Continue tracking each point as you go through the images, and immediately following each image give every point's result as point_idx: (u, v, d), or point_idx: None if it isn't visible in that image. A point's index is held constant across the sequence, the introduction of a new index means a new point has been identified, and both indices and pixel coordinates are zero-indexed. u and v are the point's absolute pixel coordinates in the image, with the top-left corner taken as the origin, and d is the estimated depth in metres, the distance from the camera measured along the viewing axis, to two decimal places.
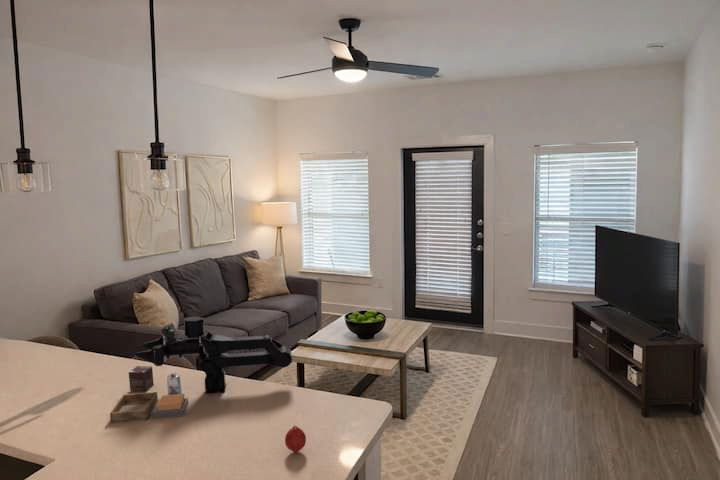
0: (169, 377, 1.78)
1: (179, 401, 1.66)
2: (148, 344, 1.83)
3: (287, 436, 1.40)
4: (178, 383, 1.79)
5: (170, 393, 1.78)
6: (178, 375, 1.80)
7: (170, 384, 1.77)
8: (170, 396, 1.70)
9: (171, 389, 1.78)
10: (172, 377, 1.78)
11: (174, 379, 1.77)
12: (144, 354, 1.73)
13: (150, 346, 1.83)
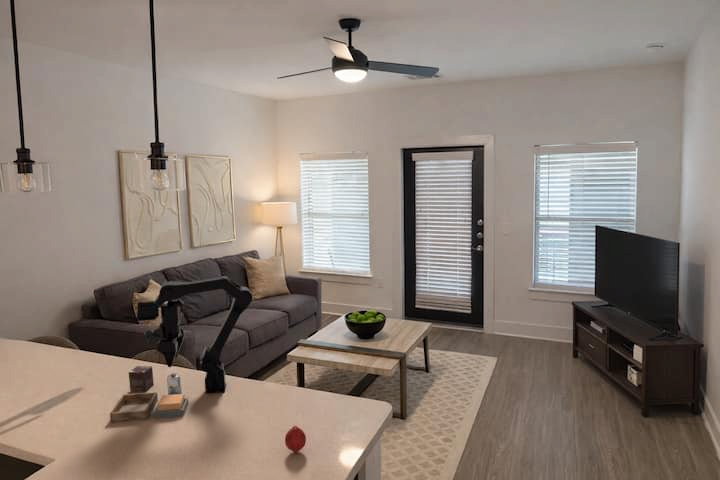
0: (169, 377, 1.78)
1: (179, 401, 1.66)
2: None
3: (287, 436, 1.40)
4: (178, 383, 1.79)
5: (170, 393, 1.78)
6: (178, 375, 1.80)
7: (170, 384, 1.77)
8: (170, 396, 1.70)
9: (171, 389, 1.78)
10: (172, 377, 1.78)
11: (174, 379, 1.77)
12: (168, 359, 1.73)
13: (176, 350, 1.83)
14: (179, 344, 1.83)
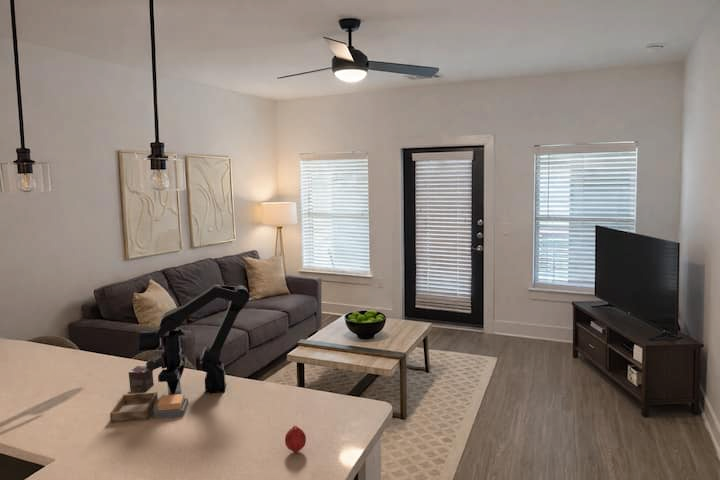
0: None
1: (179, 401, 1.66)
2: None
3: (287, 436, 1.40)
4: (178, 383, 1.79)
5: (170, 393, 1.78)
6: None
7: None
8: (170, 396, 1.70)
9: None
10: None
11: None
12: (171, 386, 1.76)
13: None
14: (180, 374, 1.82)
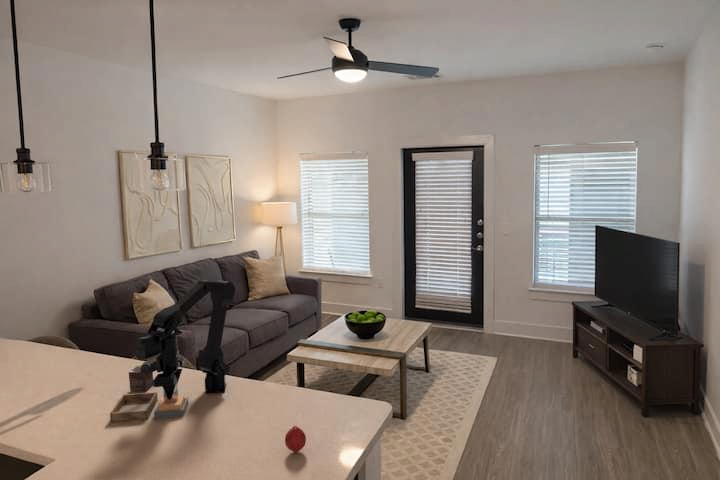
0: None
1: (179, 403, 1.66)
2: None
3: (287, 436, 1.40)
4: (175, 388, 1.66)
5: (166, 399, 1.66)
6: None
7: None
8: None
9: None
10: None
11: None
12: (167, 391, 1.64)
13: None
14: (177, 379, 1.70)
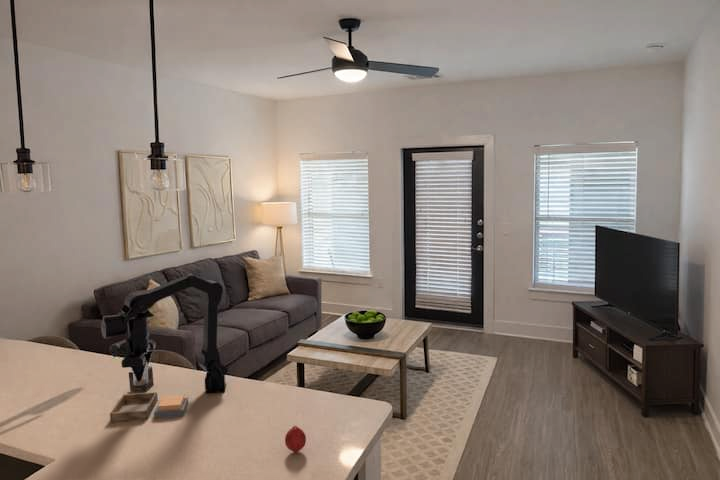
0: None
1: (179, 403, 1.66)
2: None
3: (287, 436, 1.40)
4: (144, 370, 1.65)
5: (135, 381, 1.64)
6: None
7: None
8: (170, 398, 1.70)
9: None
10: None
11: None
12: (137, 373, 1.63)
13: None
14: (147, 361, 1.69)
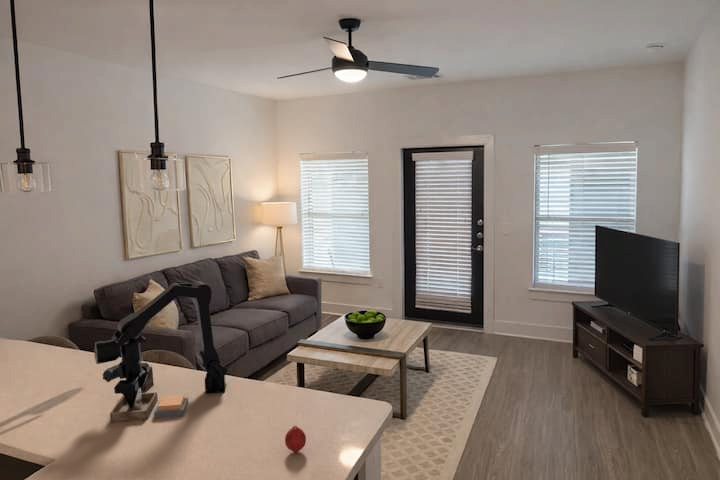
0: None
1: (179, 403, 1.66)
2: None
3: (287, 436, 1.40)
4: (138, 397, 1.67)
5: (129, 408, 1.66)
6: None
7: None
8: (170, 398, 1.70)
9: None
10: None
11: None
12: (129, 399, 1.63)
13: None
14: (142, 383, 1.71)
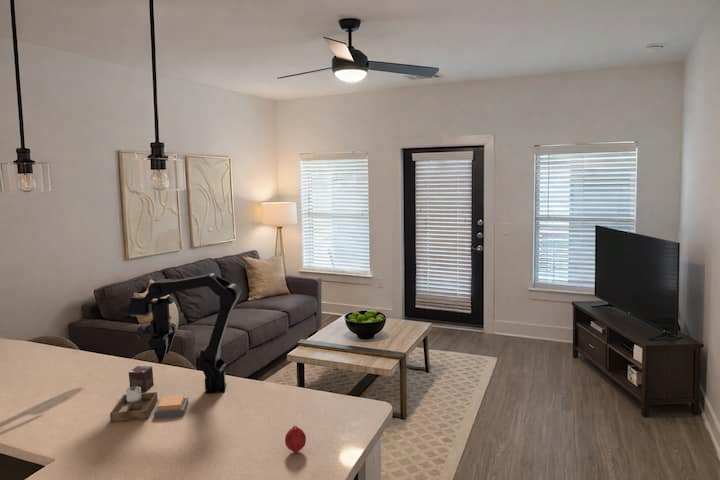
0: (128, 391, 1.66)
1: (179, 403, 1.66)
2: None
3: (287, 436, 1.40)
4: (138, 397, 1.67)
5: (129, 408, 1.66)
6: (138, 388, 1.68)
7: (129, 399, 1.66)
8: (170, 398, 1.70)
9: (131, 404, 1.66)
10: (131, 391, 1.66)
11: (133, 393, 1.65)
12: (159, 354, 1.77)
13: (167, 346, 1.87)
14: (170, 340, 1.87)
